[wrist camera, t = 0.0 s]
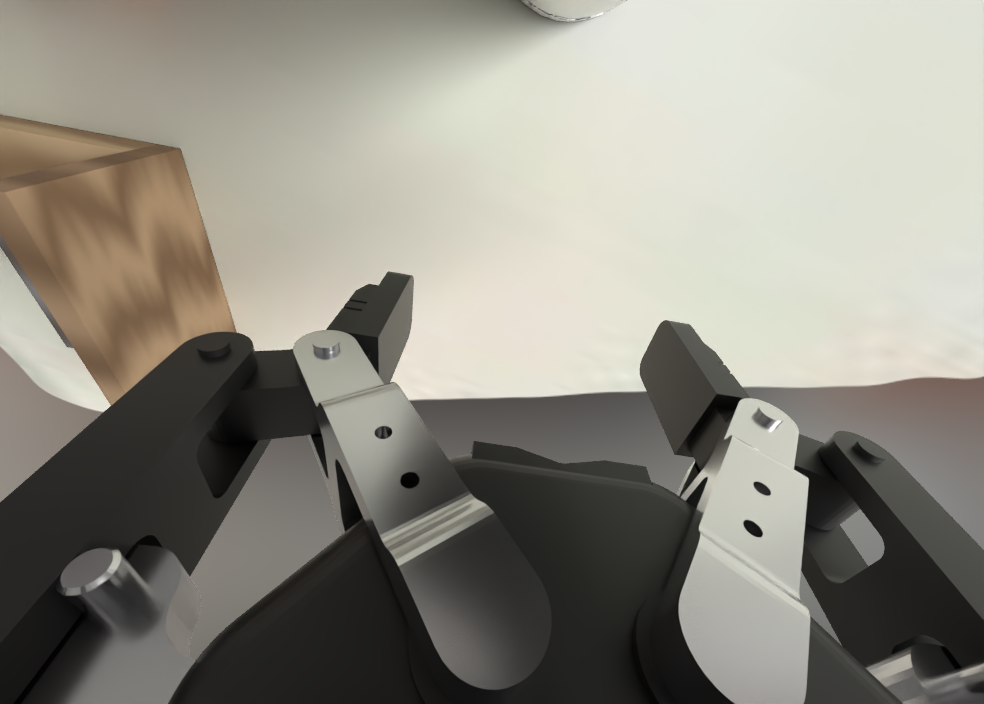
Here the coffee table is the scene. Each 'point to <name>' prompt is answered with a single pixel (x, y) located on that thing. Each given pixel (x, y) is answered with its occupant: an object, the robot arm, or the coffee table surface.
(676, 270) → the coffee table surface
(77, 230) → the brown wooden angled piece
